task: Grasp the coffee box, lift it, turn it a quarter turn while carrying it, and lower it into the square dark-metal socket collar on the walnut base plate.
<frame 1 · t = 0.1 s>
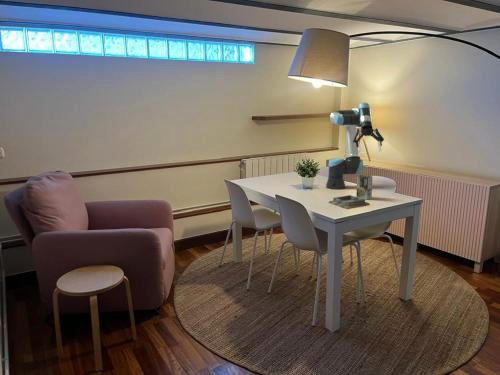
hand: (369, 150, 254), 36 cm above the table, tool tilted 35°, fingers open, 13 cm apart
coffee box: (363, 198, 274), on the table
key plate: (348, 203, 261), on the table
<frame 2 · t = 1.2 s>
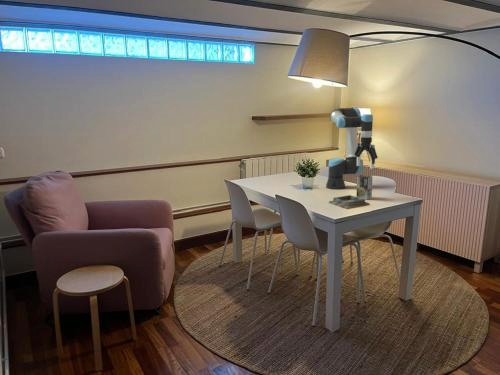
hand: (365, 167, 269), 23 cm above the table, tool pointing down, fingers open, 13 cm apart
nothing on the table moved.
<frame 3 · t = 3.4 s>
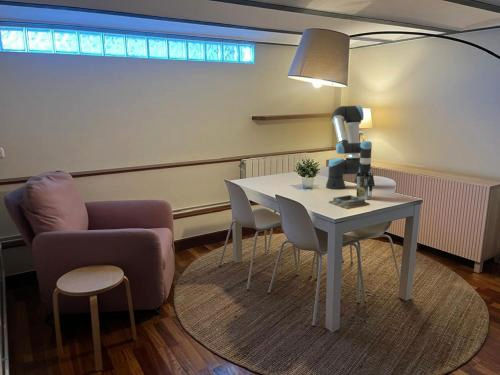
hand: (364, 193, 273), 3 cm above the table, tool pointing down, fingers closed on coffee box, 10 cm apart
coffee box: (363, 198, 274), on the table, touching gripper
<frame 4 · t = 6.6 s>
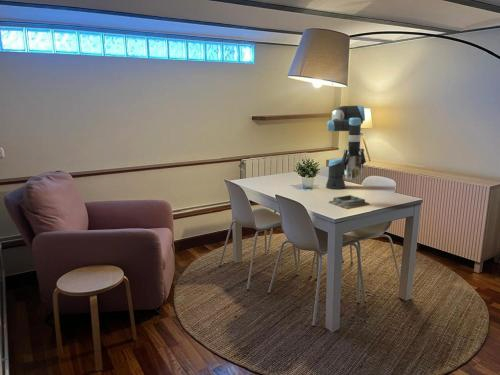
hand: (353, 173, 259), 20 cm above the table, tool pointing down, fingers closed on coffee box, 10 cm apart
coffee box: (352, 178, 259), point 17 cm above the table, touching gripper
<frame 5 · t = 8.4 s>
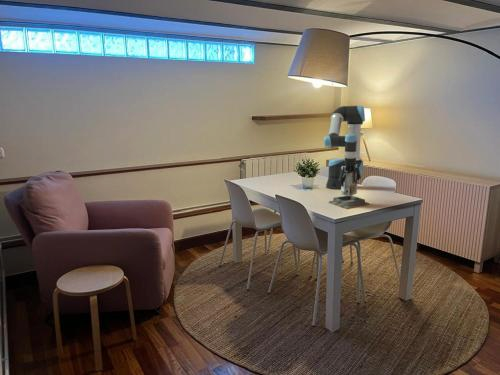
hand: (349, 190, 258), 10 cm above the table, tool pointing down, fingers closed on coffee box, 10 cm apart
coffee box: (349, 194, 259), point 6 cm above the table, touching gripper
when the fingers open (5 cm above the table, at t = 9.8 s): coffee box drops 1 cm, resting on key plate.
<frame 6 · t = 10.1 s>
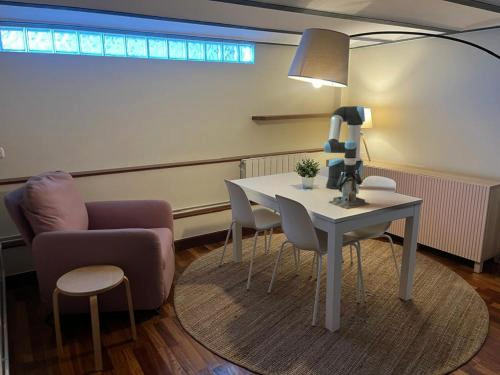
hand: (349, 194, 259), 6 cm above the table, tool pointing down, fingers open, 13 cm apart
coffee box: (348, 202, 260), point 1 cm above the table, touching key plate
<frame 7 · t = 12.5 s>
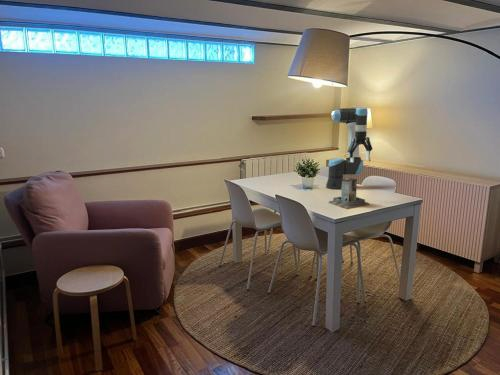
hand: (359, 161, 268), 27 cm above the table, tool pointing down, fingers open, 13 cm apart
nothing on the table moved.
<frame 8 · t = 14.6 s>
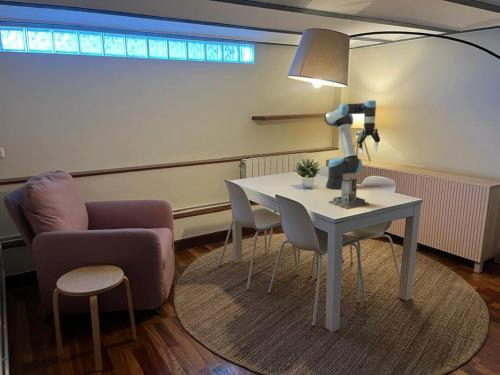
hand: (368, 151, 278), 32 cm above the table, tool pointing down, fingers open, 13 cm apart
nothing on the table moved.
at the end: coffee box 0.3 cm off-centre on the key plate, point 0.8 cm above the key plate's base; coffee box tilted 0°; the gripper is holding nothing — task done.
